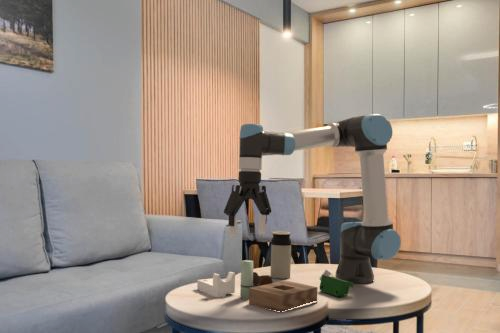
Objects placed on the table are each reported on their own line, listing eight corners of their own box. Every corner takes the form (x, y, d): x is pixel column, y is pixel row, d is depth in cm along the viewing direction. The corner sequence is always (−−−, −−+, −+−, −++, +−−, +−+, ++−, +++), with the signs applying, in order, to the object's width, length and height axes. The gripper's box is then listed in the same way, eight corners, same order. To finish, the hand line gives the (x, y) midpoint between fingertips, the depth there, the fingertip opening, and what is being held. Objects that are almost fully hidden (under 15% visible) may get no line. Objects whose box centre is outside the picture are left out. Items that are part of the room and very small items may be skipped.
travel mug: (290, 279, 189) (292, 233, 190) (270, 278, 189) (271, 233, 190) (289, 275, 197) (290, 231, 198) (270, 274, 197) (271, 231, 198)
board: (285, 295, 163) (286, 280, 163) (317, 302, 154) (317, 287, 154) (248, 304, 150) (249, 288, 150) (280, 313, 141) (281, 295, 141)
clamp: (346, 308, 165) (358, 286, 163) (332, 306, 162) (345, 283, 160) (329, 288, 175) (340, 267, 173) (316, 285, 172) (327, 264, 170)
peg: (246, 295, 161) (247, 259, 161) (255, 298, 158) (256, 261, 158) (237, 297, 158) (238, 261, 158) (246, 300, 155) (247, 262, 155)
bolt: (249, 286, 184) (268, 293, 171) (238, 280, 182) (257, 287, 169) (256, 272, 186) (275, 278, 172) (246, 266, 184) (264, 272, 170)
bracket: (234, 295, 162) (235, 273, 162) (216, 298, 157) (217, 275, 158) (214, 287, 172) (215, 266, 172) (197, 290, 168) (197, 268, 168)
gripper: (266, 172, 170) (264, 232, 170) (214, 169, 152) (211, 236, 152) (282, 172, 165) (280, 234, 165) (230, 169, 147) (228, 238, 147)
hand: (247, 235), depth 158 cm, fingers open, 13 cm apart
